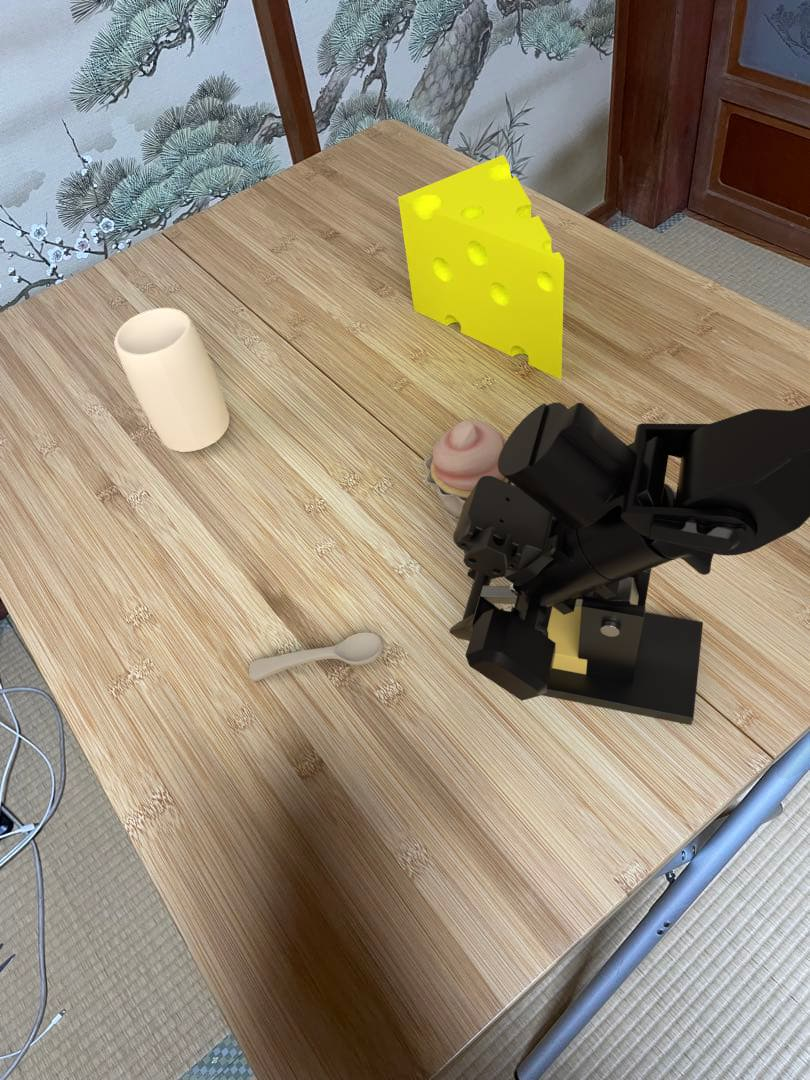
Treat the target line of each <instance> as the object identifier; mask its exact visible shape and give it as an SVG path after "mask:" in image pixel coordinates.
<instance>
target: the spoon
mask: <svg viewBox="0 0 810 1080" xmlns="http://www.w3.org/2000/svg"><path fill="white" fill-rule="evenodd" d="M384 649H385V645H384V641H383V638H381V637H380V636H379V635H378V634H377V633H373V632H365V631H364V632H357V633H355V634H352V635H350V636H348V637H347V638H345V639H344V640H343V641H341V642H340V643H338V644H335V645H332V646H326V647H318V648H317V647H316V648H309V649H304V650H297V651H293V652H289V653H285V654H280V655H275V656H269V657H263V658H258V659H255V660H252V661H251V662H250V663H249V667H248V675H249V679H250V681H252V682H259V681H261V680H264V679H267V678H268V677H272V676H273V675H276V674H278V673H280V672H283V671H285V670H288V669H291V668H294V667H297V666H300V665H304V664H308V663H311V662H316V661H322V660H329V659H330V660H331V659H336V660H340V661H342V662H344V663H345V664H348V665H351V666H364V665H368V664H370V663H372V662H374V661H376V660H377V659H378V658H379V657H380V656H381V655H382V653H383V651H384Z"/></svg>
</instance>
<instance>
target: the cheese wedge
mask: <svg viewBox="0 0 810 1080" xmlns="http://www.w3.org/2000/svg"><path fill="white" fill-rule="evenodd" d="M397 200H398V206H399V214H400V220H401V229H402V234H403V235H402V236H403V242H404V248H405V256H406V263H407V270H408V277H409V285H410V291H411V298H412V306H413V312H416V313H418V314H421V315H423V316H424V317H427V318H428V319H431V320H433V321H434V322H437V323H440V324H442V325H444V326H446V327H447V326H449V325H451V324H454V323H458V324H459V325H460V333H461V334H463V335H465V336H467V337H469V338H472V339H474V340H476V341H477V342H480V343H482V344H484V345H487V346H488V347H490V348H493V349H494V350H497V351H499V352H501V353H503V354H505V355H508V356H510V357H512V358H513V357H514V356H516V355H526V356H527V357H528V362H527V365H529V366H531V367H533V368H534V369H537V370H540V371H542V372H544V373H546V374H547V375H550V376H552V377H554V378H556V379H559V380H562V376H563V375H562V373H563V372H562V370H563V336H564V335H563V333H564V332H563V330H564V329H563V328H564V323H563V322H564V295H565V294H564V293H565V292H564V291H565V290H564V289H565V260H564V258H563V257H562V254H561V252H560V251H558V252H553V249H552V241H553V238H552V237H551V235H550V233H549V232H548V230H547V228H546V226H545V224H544V222H543V221H542V218H541V217H540V216H539V215H538V214H537V215H536V216H532V206H533V203H532V202H531V200H530V199H529V196H528V195H527V193H526V191H525V190H524V188H523V186H522V184H521V182H520V181H519V179H518V177H517V175H514V176H513V177H512V174H511V167H510V163H509V162H508V160H507V158H506V155H505V154H502V155H499V156H496V157H494V158H491V159H489V160H487V161H484V162H482V163H480V164H477V165H475V166H472V167H470V168H468V169H467V168H466V169H465V170H462V171H460V172H458V173H455V174H453V175H450V176H447V177H445V178H441V179H440V180H437V181H435V182H432V183H430V184H428V185H425V186H422V187H420V188H418V189H415V190H413V191H410V192H408V193H405V194H403V195H400V196H398V197H397Z"/></svg>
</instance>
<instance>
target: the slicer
mask: <svg viewBox="0 0 810 1080" xmlns="http://www.w3.org/2000/svg"><path fill="white" fill-rule="evenodd" d="M651 572H652V569H649V570H646V571H644V572H641V573H639V574H636V575H633V576H631V577H634V580H635V584H636V588H637V591H638V595H639V599H638V605H634V604H628V603H622V602H616V601H610V600H604V599H598V598H592V597H586V596H584V597H583V601H582V606H581V620H580V636H579V651H578V658H579V659H584V660H587V668H586V674H581V673H575V672H570V671H565V670H560V669H554V668H552V671H551V675H550V680H549V685H548V689H547V693H545V694H542V695H541V696H543V697H549V698H554V699H558V700H563V701H568V702H572V703H578V704H583V705H589V706H592V707H593V706H594V707H597V708H602V709H603V708H605V709H608V710H614V711H618V712H624V713H628V714H632V715H633V714H634V715H639V716H642V717H643V716H644V717H649V718H652V719H657V720H664V721H668V722H672V723H677V724H678V723H679V724H683V725H688V726H692V725H693V722H694V717H695V709H696V697H697V686H698V678H699V677H698V676H699V669H700V668H699V667H700V658H701V657H700V656H701V648H702V636H703V627H704V622H703V621H700V620H695V619H688V618H683V617H675V616H671V615H665V614H658V613H652V612H647V611H646V604H647V603H646V602H647V596H648V591H649V585H650V579H651ZM551 611H552V606H549V607H548V608H547V612H546V616H545V620H544V625H545V627H546V628H548V624H549V619H550V615H551Z"/></svg>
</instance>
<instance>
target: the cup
mask: <svg viewBox="0 0 810 1080" xmlns="http://www.w3.org/2000/svg"><path fill="white" fill-rule="evenodd" d="M113 345H114V349H115V351H116V353H117V357H118V359H119V362H120V364H121V367H122V368H123V372H124V374H125V376H126V378H127V380H128V382H129V384H130V386H131V388H132V390H133V393H134V394H135V396H136V398H137V400H138V402H139V405H140V406H141V407H142V409H143V412H144V413H145V415H146V417H147V419H148V420H149V422H150V424H151V426H152V427H153V429H154V431H155V432H156V434H157V436H158V437H159V439H160V440H161V442H162V443H163V445H165V447H166V448H168V449H170V450H173V451H175V452H179V453H180V452H181V453H186V452H188V453H189V452H195V451H199V450H202V449H205V448H208V447H209V446H211V445H213V444H215V443H216V442H218V441H219V440H220V439H221V438H222V437H223V435H224V434H225V433H226V431H227V430H228V428H229V424H230V414H229V409H228V407H227V402H226V399H225V397H224V394H223V390H222V388H221V385H220V382H219V379H218V376H217V374H216V370H215V369H214V368H215V367H214V366H213V363H212V361H211V358H210V356H209V354H208V352H207V349H206V347H205V344H204V343H203V340H202V338H201V336H200V334H199V333H198V330H197V328H196V327H195V324H194V323H193V320H192V318H190V316H189V315H188V314H187V313H186V312H184V311H183V310H180V309H177V308H173V307H157V308H152V309H148V310H145V311H143V312H140V313H138V314H136V315H134V316H132V317H130V318H129V319H127V320H126V321H125V322H124V323H123V324H122V325H121V326H120V328H118V330H117V332H116V334H115V337H114V341H113Z"/></svg>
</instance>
